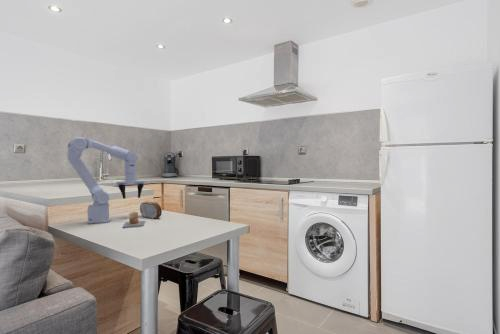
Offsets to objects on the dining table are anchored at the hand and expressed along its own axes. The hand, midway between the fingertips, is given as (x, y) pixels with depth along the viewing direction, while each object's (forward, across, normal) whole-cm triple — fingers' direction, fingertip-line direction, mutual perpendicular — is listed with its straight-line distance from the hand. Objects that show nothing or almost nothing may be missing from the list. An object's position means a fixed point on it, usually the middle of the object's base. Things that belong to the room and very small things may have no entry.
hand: (131, 198), depth 153 cm
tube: (+10, +5, -21) cm, 23 cm away
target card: (+10, +5, -21) cm, 24 cm away
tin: (+11, +10, -5) cm, 16 cm away
